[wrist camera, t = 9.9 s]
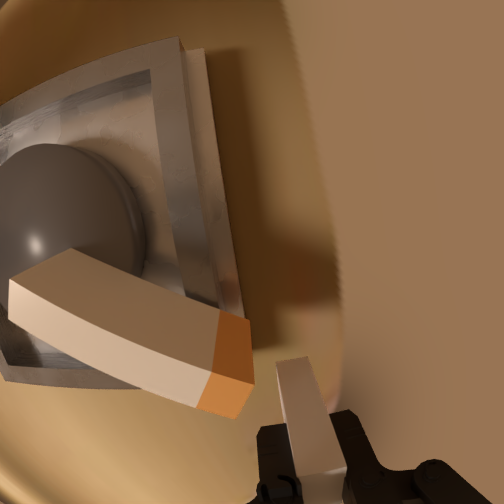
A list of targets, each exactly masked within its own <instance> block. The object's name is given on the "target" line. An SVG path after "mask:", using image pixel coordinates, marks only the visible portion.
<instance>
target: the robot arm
mask: <svg viewBox="0 0 504 504" xmlns="http://www.w3.org/2000/svg"><path fill="white" fill-rule="evenodd" d="M276 370H277V377H278V385H279V393H280V400H281V407H282V412H283V418H284V423H283V424H276V425H269V426H262V427H261V428H260V430H259V432H258V434H257V436H256V437H257V451H258V465H259V478H260V482H259V483H258V484H257V489H256V492H257V496H256V497H255V498H254V499H253V500H252V501H250V502H249V503H247V504H340V503H342V499H343V502H344V504H492V503H491V502H490V501H488V500H487V499H486V498H485V497H484V496H483V495H482V494H480V493H479V492H478V491H477V490H476V489H475V488H474V487H472V486H471V485H470V484H469V483H468V482H467V481H466V480H464V479H463V478H462V477H461V476H460V475H459V474H458V473H457V472H456V471H455V470H453V469H452V468H451V467H450V466H449V465H448V464H447V463H445V462H443V461H442V460H437V459H432V460H427V461H425V462H422V463H421V464H420V465H419V466H418V467H417V468H416V469H414V470H403V471H393V470H389V469H387V468H385V467H383V466H382V465H381V464H380V463H379V462H378V460H377V458H376V456H375V453H374V451H373V449H372V447H371V444H370V442H369V440H368V438H367V436H366V435H365V432H364V430H363V428H362V425H361V423H360V421H359V418H358V416H356V415H355V414H354V413H353V412H352V411H350V410H349V409H348V410H344V411H340V412H336V413H331V414H328V411H327V408H326V406H325V403H324V400H323V397H322V395H321V392H320V389H319V386H318V384H317V381H316V378H315V375H314V373H313V370H312V367H311V364H310V362H309V359H308V356H307V357H302V358H296V359H290V360H284V361H278V362H276Z"/></svg>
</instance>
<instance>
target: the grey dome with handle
mask: <svg viewBox="0 0 504 504" xmlns="http://www.w3.org/2000/svg"><path fill="white" fill-rule="evenodd" d="M144 258H145V234H144V226H143V221H142V217H141V213H140V210H139V207H138V204H137V201H136V199H135V197H134V195H133V193H132V191H131V189H130V187H129V185H128V184H127V182H126V181H125V179H124V178H123V176H122V175H121V174H120V173H119V172H118V171H117V169H116V168H115V167H114V166H113V165H111V164H110V163H109V162H108V161H107V160H106V159H104V158H103V157H101V156H99V155H98V154H96V153H94V152H92V151H89V150H87V149H83V148H79V147H74V146H67V145H60V144H50V143H42V144H35V145H32V146H29V147H26V148H23V149H22V150H20V151H18V152H16V153H15V154H14V155H12V156H11V157H10V158H8V159H7V160H6V161H5V162H4V163H3V165H2V166H1V167H0V303H1V304H2V305H3V307H4V308H5V309H6V311H7V312H8V319H9V320H10V321H12V322H13V323H15V324H16V325H18V326H19V327H21V328H23V329H24V330H26V331H27V332H29V333H31V334H32V335H34V336H36V337H37V338H39V339H41V340H42V341H44V342H46V343H48V344H49V345H51V346H53V347H55V348H57V349H58V350H60V351H62V352H64V353H66V354H68V355H70V356H71V357H73V358H75V359H77V360H79V361H81V362H83V363H85V364H87V365H89V366H91V367H93V368H96V369H98V370H100V371H102V372H104V373H106V374H109V375H111V376H113V377H115V378H117V379H120V380H122V381H124V382H127V383H129V384H132V385H134V386H136V387H139V388H141V389H144V390H146V391H149V392H152V393H154V394H157V395H160V396H162V397H165V398H168V399H171V400H174V401H176V402H179V403H182V404H185V405H188V406H191V407H194V408H198V409H201V410H204V411H207V412H211V413H214V414H218V415H221V416H225V417H228V418H232V419H236V418H237V416H238V414H239V413H240V411H241V409H242V407H243V405H244V404H245V402H246V400H247V398H248V397H249V395H250V393H251V391H252V389H253V388H254V386H255V381H254V368H253V355H252V342H251V329H250V320H248V319H245V318H242V317H239V316H236V315H234V314H231V313H228V312H225V311H222V310H220V309H217V308H214V307H212V306H209V305H206V304H204V303H201V302H198V301H196V300H193V299H190V298H188V297H185V296H183V295H180V294H178V293H175V292H172V291H170V290H167V289H165V288H162V287H160V286H157V285H155V284H153V283H150V282H148V281H145V280H143V279H140V278H141V275H142V270H143V266H144Z"/></svg>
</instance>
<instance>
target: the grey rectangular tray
mask: <svg viewBox="0 0 504 504" xmlns="http://www.w3.org/2000/svg"><path fill="white" fill-rule="evenodd" d="M42 143H50V144H60V145H67V146H74V147H79V148H83V149H87V150H89V151H92V152H94V153H96V154H98V155H99V156H101V157H103V158H104V159H106V160H107V161H108V162H109V163H110V164H111V165H113V166H114V167H115V168H116V169H117V171H118V172H119V173H120V174H121V175H122V176H123V178H124V179H125V181H126V182H127V184H128V185H129V187H130V189H131V191H132V193H133V195H134V197H135V199H136V201H137V204H138V207H139V210H140V213H141V217H142V221H143V226H144V234H145V258H144V266H143V270H142V275H141V278H140V279H143V280H145V281H148V282H150V283H153V284H155V285H157V286H160V287H162V288H165V289H167V290H170V291H172V292H175V293H178V294H180V295H183V296H185V297H188V298H190V299H193V300H196V301H198V302H201V303H204V304H206V305H209V306H212V307H214V308H217V309H220V310H222V311H225V312H228V313H231V314H234V315H236V316H239V317H242V318H245V312H244V306H243V300H242V294H241V288H240V282H239V276H238V270H237V264H236V258H235V252H234V245H233V239H232V233H231V227H230V220H229V214H228V208H227V201H226V195H225V188H224V181H223V175H222V168H221V161H220V155H219V148H218V141H217V134H216V127H215V120H214V113H213V106H212V99H211V92H210V84H209V77H208V70H207V62H206V54H205V51H204V48H199V49H193V50H188V51H185V50H184V47H183V45H182V43H181V41H180V38H179V36H176V37H171V38H167V39H163V40H159V41H155V42H151V43H147V44H144V45H140V46H137V47H133V48H130V49H127V50H123V51H120V52H117V53H114V54H111V55H108V56H105V57H103V58H100V59H97V60H94V61H92V62H89V63H86V64H84V65H81V66H79V67H76V68H74V69H72V70H69V71H67V72H65V73H62V74H60V75H58V76H56V77H54V78H52V79H49V80H47V81H45V82H43V83H41V84H39V85H37V86H35V87H33V88H31V89H29V90H27V91H26V92H24V93H22V94H20V95H18V96H16V97H15V98H13V99H11V100H9V101H8V102H6V103H4V104H3V105H1V106H0V167H1V166H2V165H3V163H4V162H5V161H6V160H7V159H8V158H10V157H11V156H12V155H14V154H15V153H16V152H18V151H20V150H22V149H23V148H26V147H29V146H32V145H35V144H42ZM245 319H246V318H245ZM0 372H1V374H2V376H3V377H4V379H5V381H10V382H17V383H25V384H33V385H43V386H54V387H68V388H86V389H141V388H139V387H136V386H134V385H132V384H129V383H127V382H124V381H122V380H120V379H117V378H115V377H113V376H111V375H109V374H106V373H104V372H102V371H100V370H98V369H96V368H93V367H91V366H89V365H87V364H85V363H83V362H81V361H79V360H77V359H75V358H73V357H71V356H70V355H68V354H66V353H64V352H62V351H60V350H58V349H57V348H55V347H53V346H51V345H49V344H48V343H46V342H44V341H42V340H41V339H39V338H37V337H36V336H34V335H32V334H31V333H29V332H27V331H26V330H24V329H23V328H21V327H19V326H18V325H16V324H15V323H13V322H12V321H10V320H9V319H8V312H7V311H6V309H5V308H4V307H3V305H2V304H1V303H0Z"/></svg>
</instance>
